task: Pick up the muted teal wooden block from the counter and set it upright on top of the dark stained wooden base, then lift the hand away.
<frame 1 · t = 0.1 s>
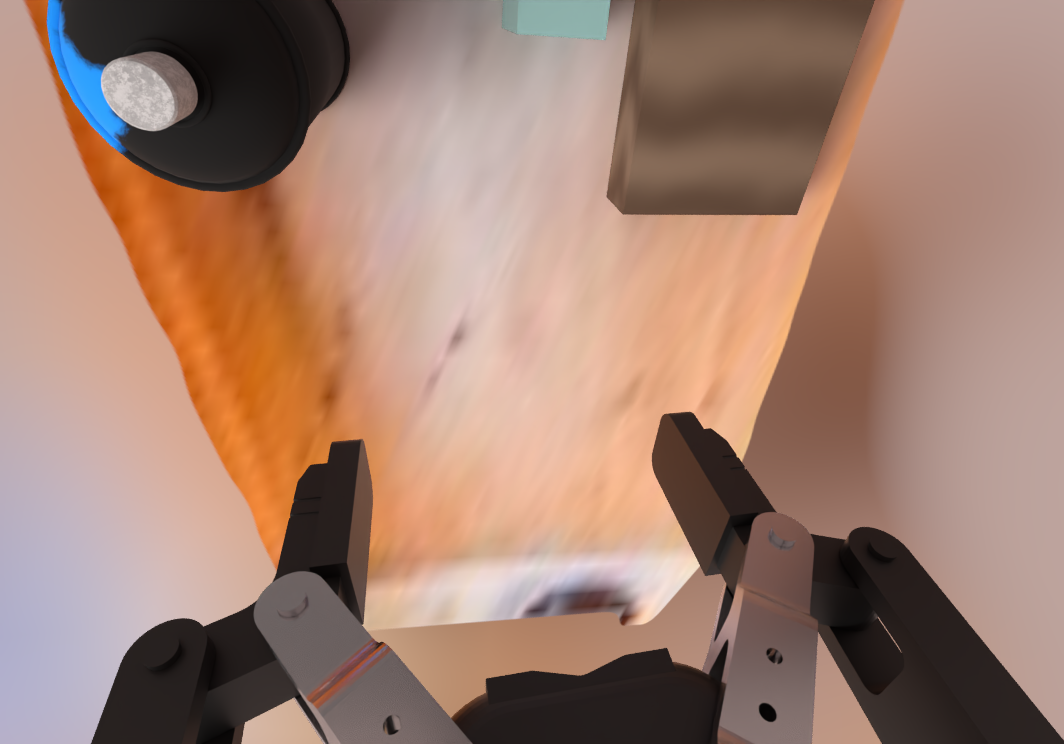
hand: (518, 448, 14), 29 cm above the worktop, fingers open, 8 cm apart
aerosol can: (278, 42, 32), on the worktop
stacking base: (713, 100, 38), on the worktop
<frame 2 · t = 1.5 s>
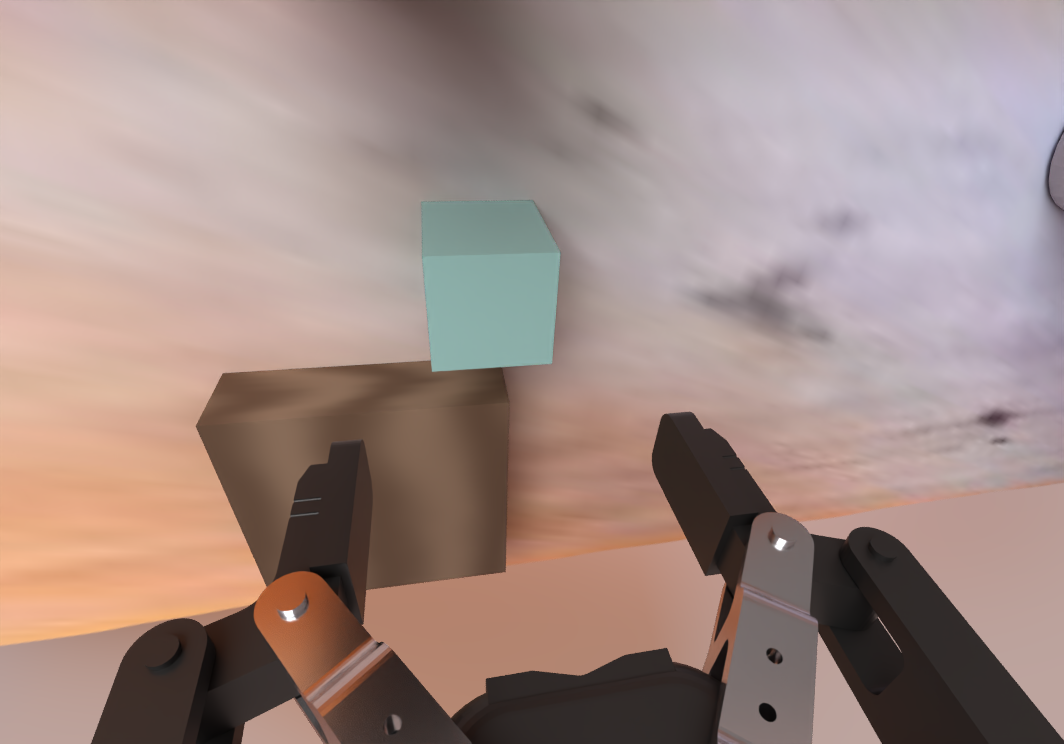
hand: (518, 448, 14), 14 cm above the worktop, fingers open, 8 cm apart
teal block: (478, 253, 25), on the worktop
stacking base: (383, 459, 32), on the worktop
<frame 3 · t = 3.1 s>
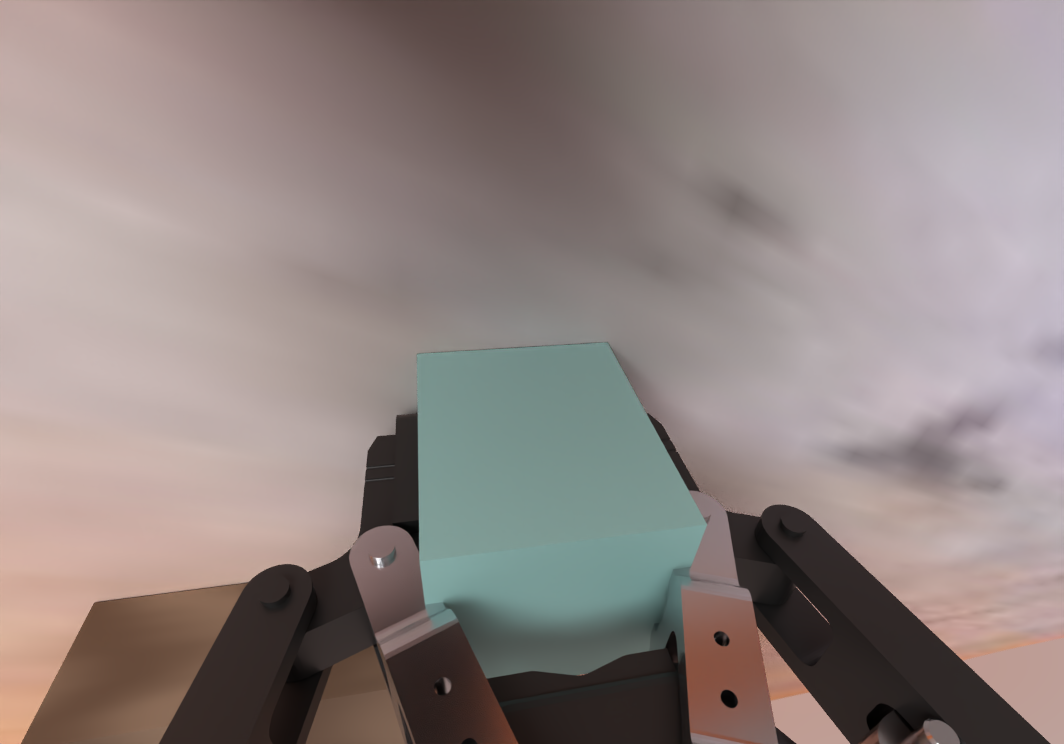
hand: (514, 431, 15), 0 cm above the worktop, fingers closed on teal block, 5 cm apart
teal block: (512, 420, 15), on the worktop, touching gripper
stacking base: (360, 672, 22), on the worktop
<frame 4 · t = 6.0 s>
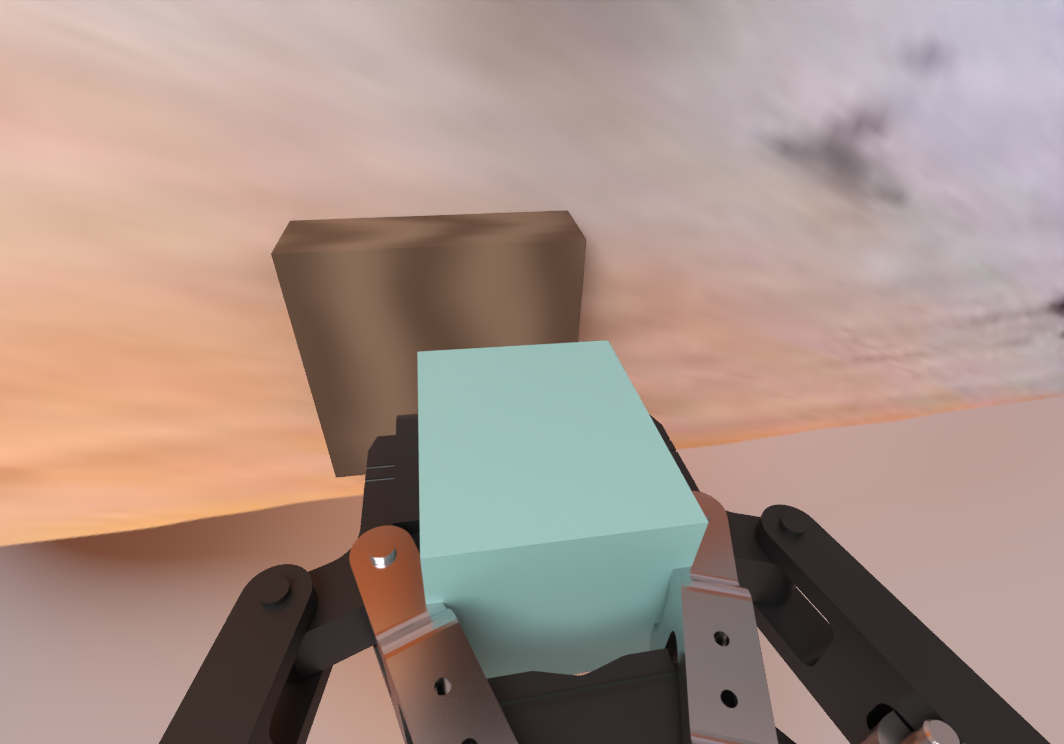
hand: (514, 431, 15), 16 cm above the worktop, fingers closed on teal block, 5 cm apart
teal block: (513, 418, 15), point 16 cm above the worktop, touching gripper
stacking base: (444, 332, 31), on the worktop
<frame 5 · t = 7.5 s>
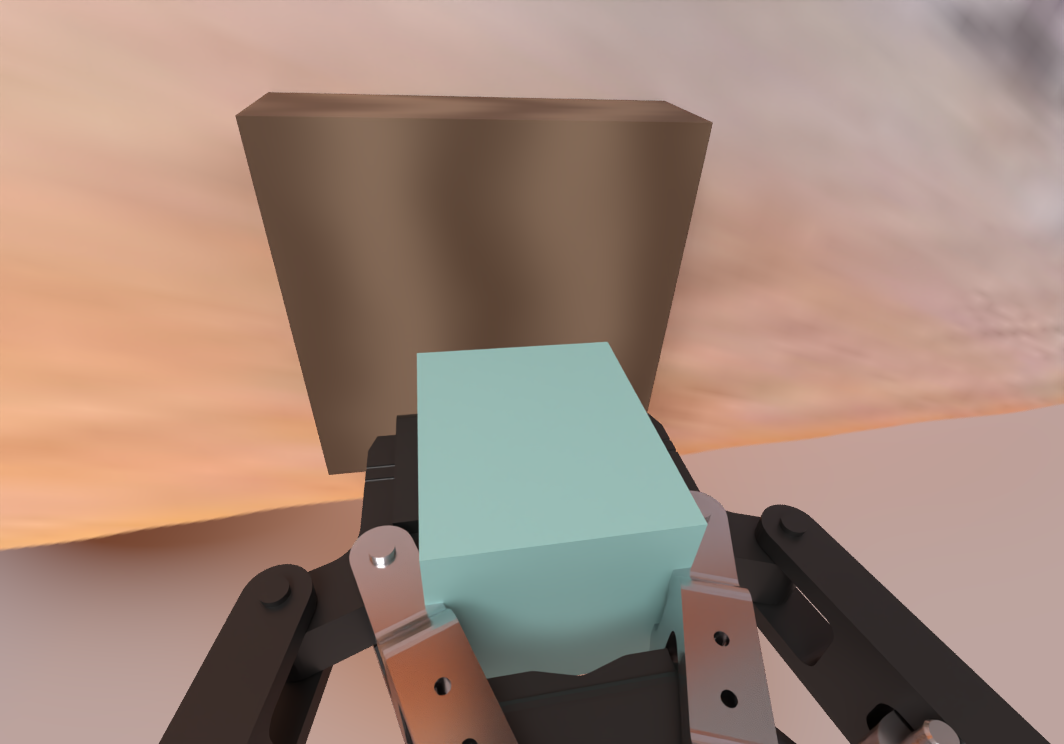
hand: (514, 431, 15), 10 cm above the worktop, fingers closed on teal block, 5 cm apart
teal block: (512, 420, 15), point 10 cm above the worktop, touching gripper
stacking base: (481, 277, 23), on the worktop
when the fingers open (6 cm above the worktop, at t = 8.7 s): teal block drops 1 cm, resting on stacking base.
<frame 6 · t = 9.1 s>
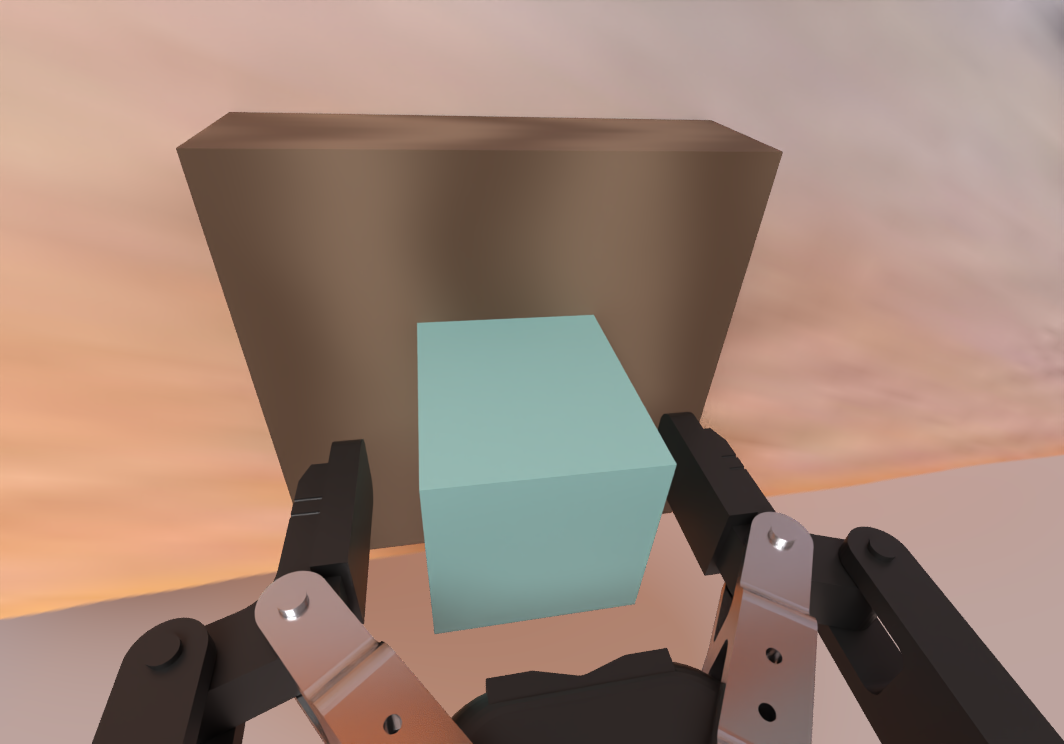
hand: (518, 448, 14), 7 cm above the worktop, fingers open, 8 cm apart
teal block: (505, 389, 16), point 4 cm above the worktop, touching stacking base
stacking base: (489, 324, 19), on the worktop
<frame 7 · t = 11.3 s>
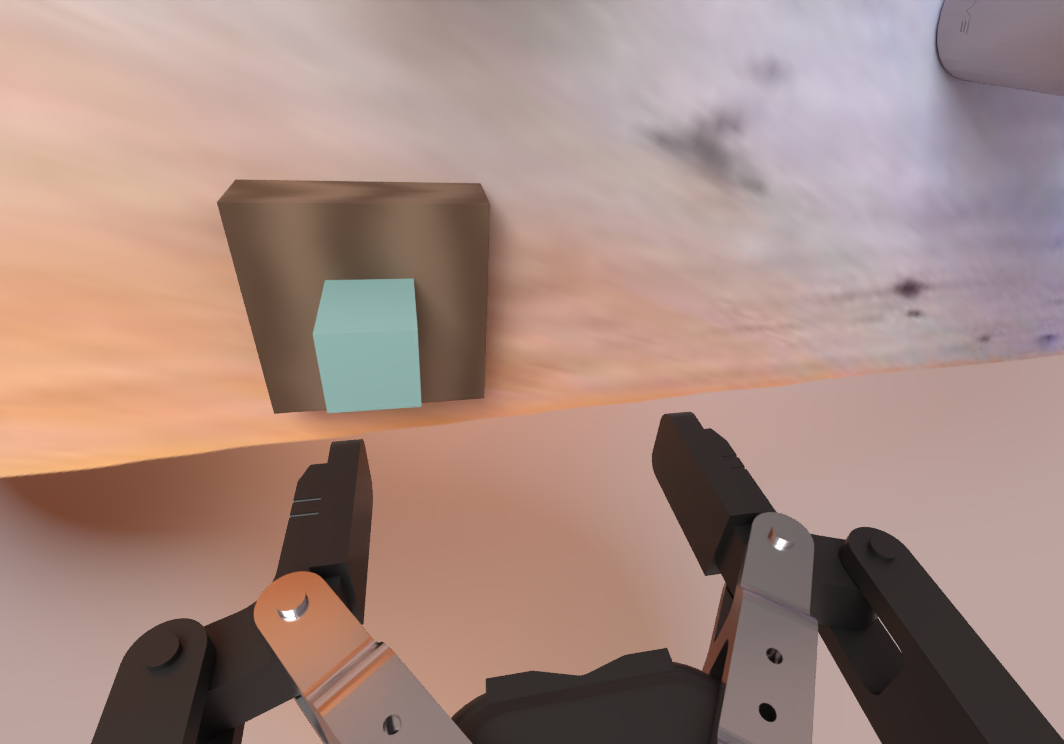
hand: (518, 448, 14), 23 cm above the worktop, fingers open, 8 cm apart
teal block: (374, 316, 32), point 4 cm above the worktop, touching stacking base
stacking base: (375, 287, 35), on the worktop
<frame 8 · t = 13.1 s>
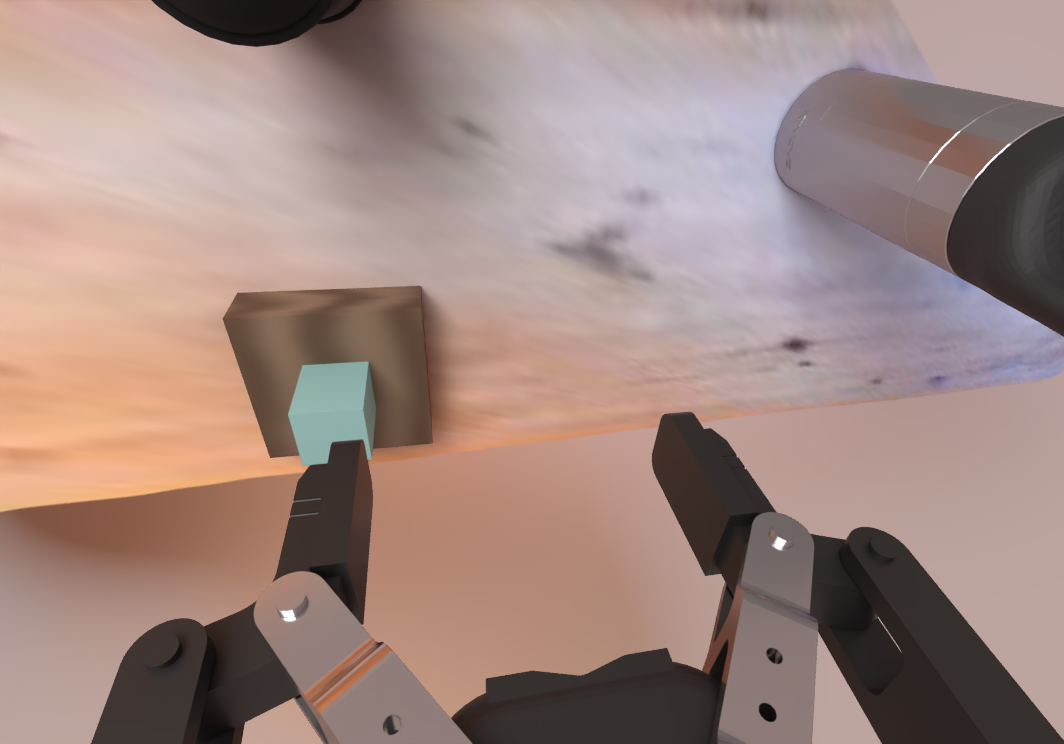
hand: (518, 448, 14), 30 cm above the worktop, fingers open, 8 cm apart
teal block: (340, 388, 43), point 4 cm above the worktop, touching stacking base
stacking base: (345, 361, 46), on the worktop
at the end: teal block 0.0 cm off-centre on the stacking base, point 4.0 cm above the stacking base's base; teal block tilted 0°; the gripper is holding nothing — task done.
